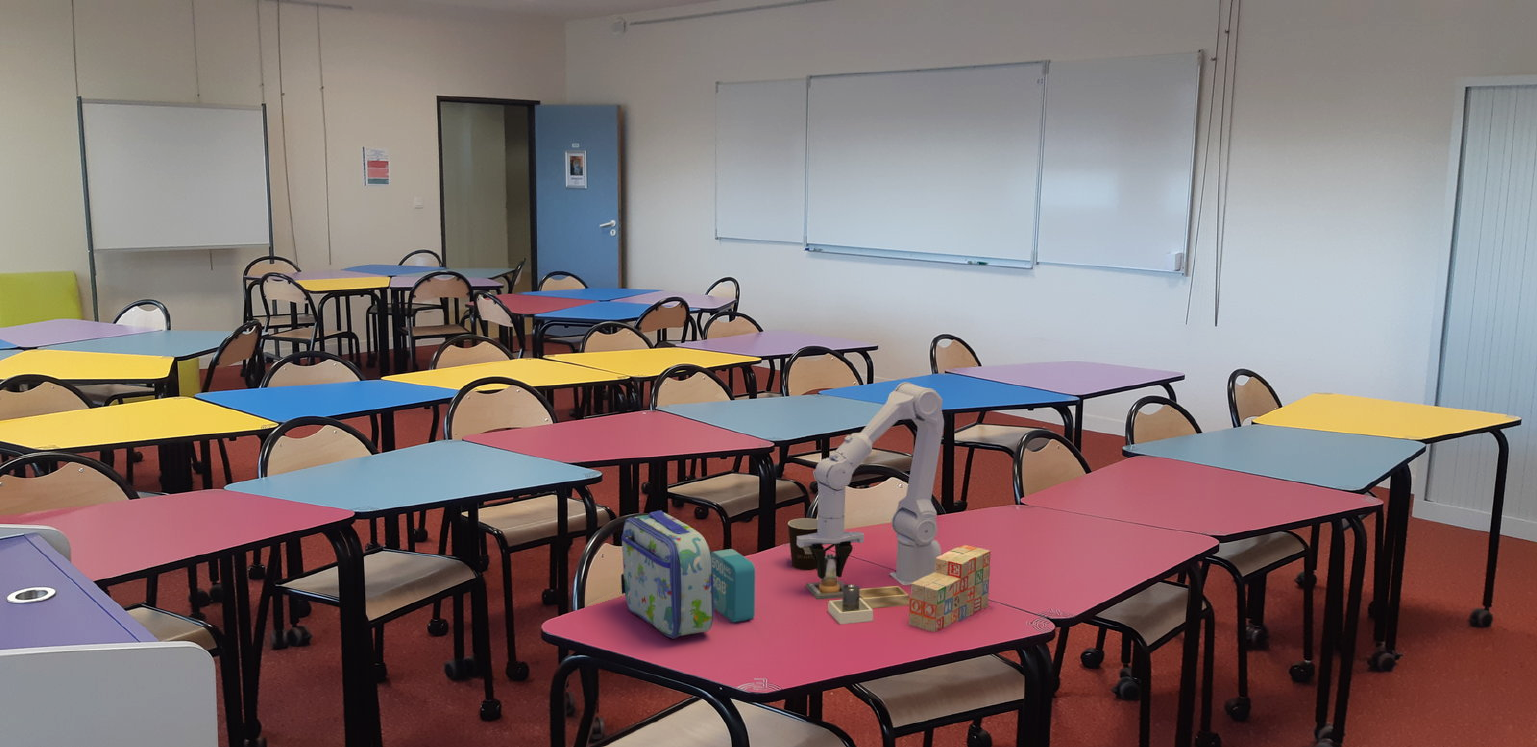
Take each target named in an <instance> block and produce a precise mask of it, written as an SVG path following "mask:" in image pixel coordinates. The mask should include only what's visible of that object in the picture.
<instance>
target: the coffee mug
mask: <svg viewBox="0 0 1537 747" xmlns="http://www.w3.org/2000/svg"><path fill="white" fill-rule="evenodd" d="M787 526H788V527H787V528H788V537H789V538H788V539H789V548H790V559H791V566H792V567H793V568H794V569H796V570H800V571H801V570H802V571H812V570H817V568H816V564H815V561H814V558H813V555H812V553H811V550H810V548H809V546H804V547H798V545H797V536H803V535H808V534H813V533H817V528H818V518H817V519H816V518H809V517H808V518H805V517H803V518H795V519H791V520H789V521H788V522H787ZM833 547H835V544H829V546H827V547H825V548H824V550H825V551H826V552H828V551H829V550H831V549H832V548H833Z"/></svg>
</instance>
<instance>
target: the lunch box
mask: <svg viewBox="0 0 1537 747" xmlns="http://www.w3.org/2000/svg"><path fill="white" fill-rule="evenodd" d="M622 531H623V532H622V533H621V546H622V548H621V549H622V568H623V573H622V574H621V575H620V579H621V580H620V581H621V583H620V585H621V594H622V595H624V597H625V600H626V604H627V608H628V610H629V611H630V612H631V613H633V614H635V615H637V617H639V618H641V619H642V620H644V621H646V622H647V623H649V624H651V625H653V627H655V628H656V629H657V630H659V632H661V633H662V634H663V635H664V636H665V637H668V638H669V639H677V638H678V637H682V636H688V635H692V634H698V633H699V634H700V633H707V632H708V631H710V630H711V628H712V626H713V621H714V611H715V608H714V584H713V567H712V559H711V552H710V547H709V545H708V543H707V541H706V539H705V537H704V536H703V535H702V534H701V533H700V532H699V531H697V530H696V529H695V528H692V527H691V526H690V525H688V524H686V523H684V521H683V522H682V521H681V520H679V519H677V518H676V517H673V516H671V515H670V514H668V513H666V512H663V511H662V510H661V509H660V510H656V511H651V512H649V514H647V515H646V514H645V515H637V516H629V517H628V518H626V519H625V521H624V525H623V530H622Z"/></svg>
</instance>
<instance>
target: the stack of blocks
mask: <svg viewBox="0 0 1537 747" xmlns="http://www.w3.org/2000/svg"><path fill="white" fill-rule="evenodd" d="M990 573H991V550H989V549H985V548H981V547H976V546H971V545H967V544H964V545H961V546H959V547H958V546H957V547H955V548H953V549H950V550H949V551H947V552H945V553H943V554H941V555H940V556H938V557H936V558H935V572H934V573H932V574H930V575H928V576H925V577H923V578H921V579H919V580H917V581H915V582H913V583H911V585H910V597H909V609H908V610H909V614H908V615H909V616H908V617H909V618H908V619H909V620H908V625H909V626H912V627H916V628H919V629H922V630H926V631H928V632H931V633H932V632H933V633H936V632H938V631H939V630H942V629H944V628H946V627H948V626H949V625H951V624H953V623H954V622H958V623H959V622H960V621H962V620H964V619H966V618H968V617H970V616H971V615H973V614H975V613H977V612H979V611H981V610H983V609H984V608H986V607H989V595H990V594H989V589H990V587H989V586H990V576H991V574H990Z"/></svg>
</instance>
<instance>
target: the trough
mask: <svg viewBox="0 0 1537 747" xmlns="http://www.w3.org/2000/svg"><path fill="white" fill-rule="evenodd" d="M859 598H861V599H862V600H863V601H864V602H865V603H866V604H867V605H868V606H869V607H870V608H871V609H880V608H881V609H883V608H892V607H904V606H910V595H909V594H908V592H906V591H905V590H904V589H903V588H902V587H901V586H900V585H894V586H881V587H871V588H870V587H868V588H860V593H859Z"/></svg>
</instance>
